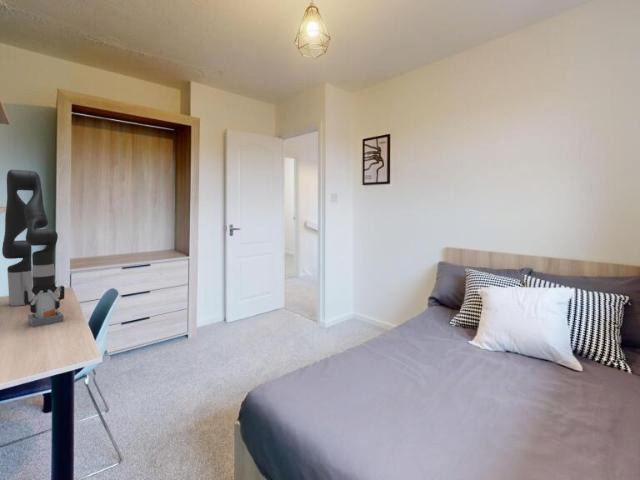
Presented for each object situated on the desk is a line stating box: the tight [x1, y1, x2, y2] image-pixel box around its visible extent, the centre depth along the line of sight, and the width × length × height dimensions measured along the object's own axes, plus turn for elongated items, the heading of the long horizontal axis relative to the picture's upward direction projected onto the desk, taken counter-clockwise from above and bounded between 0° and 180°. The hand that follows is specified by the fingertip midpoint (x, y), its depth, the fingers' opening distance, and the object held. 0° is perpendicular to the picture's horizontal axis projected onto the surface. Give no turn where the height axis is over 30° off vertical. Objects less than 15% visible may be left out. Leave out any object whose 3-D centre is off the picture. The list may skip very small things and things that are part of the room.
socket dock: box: [27, 309, 64, 328], centre depth 143 cm, size 10×10×3 cm
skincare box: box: [33, 292, 56, 319], centre depth 143 cm, size 6×4×12 cm
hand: (45, 311), depth 143 cm, fingers closed on skincare box, 7 cm apart
